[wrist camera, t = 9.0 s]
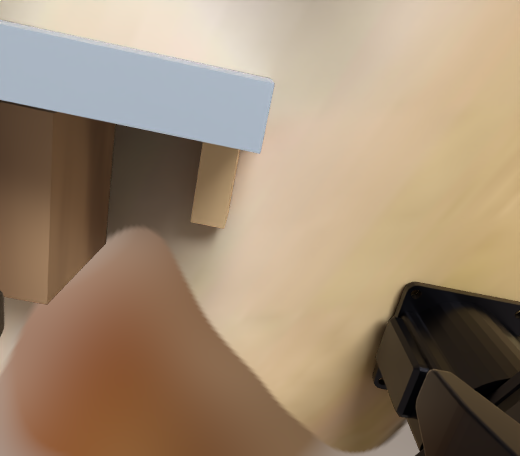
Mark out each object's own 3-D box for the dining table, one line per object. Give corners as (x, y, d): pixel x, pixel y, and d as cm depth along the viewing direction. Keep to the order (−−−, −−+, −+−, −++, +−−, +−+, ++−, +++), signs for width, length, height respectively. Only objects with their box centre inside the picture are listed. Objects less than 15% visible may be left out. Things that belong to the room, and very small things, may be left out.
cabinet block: (118, 101, 19) (53, 113, 13) (105, 250, 21) (46, 313, 16) (5, 77, 18) (-111, 79, 13) (5, 231, 21) (-91, 288, 15)
